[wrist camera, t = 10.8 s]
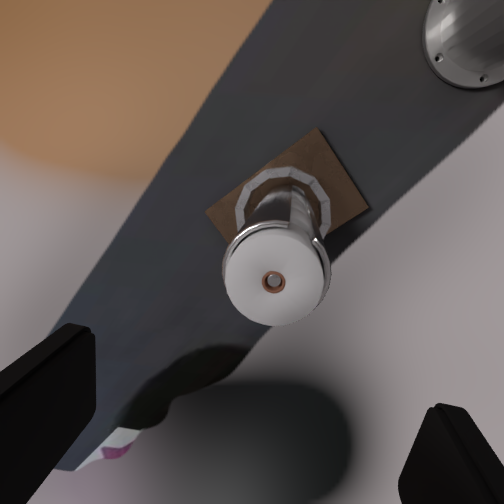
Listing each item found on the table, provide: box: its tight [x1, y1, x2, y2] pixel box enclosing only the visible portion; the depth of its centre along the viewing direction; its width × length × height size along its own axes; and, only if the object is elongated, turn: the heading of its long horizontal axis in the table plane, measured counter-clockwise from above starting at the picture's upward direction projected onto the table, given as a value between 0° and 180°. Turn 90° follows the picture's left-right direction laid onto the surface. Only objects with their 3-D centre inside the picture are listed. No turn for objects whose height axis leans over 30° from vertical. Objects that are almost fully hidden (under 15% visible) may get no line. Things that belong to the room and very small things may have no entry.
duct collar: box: [205, 127, 369, 244], centre depth 39 cm, size 18×12×6 cm, turn 126°
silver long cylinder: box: [222, 184, 331, 326], centre depth 29 cm, size 6×6×25 cm
